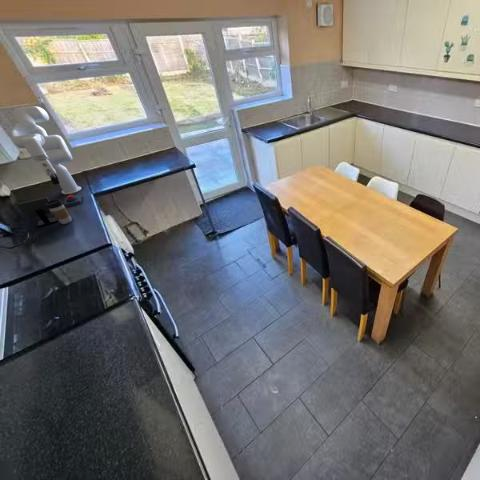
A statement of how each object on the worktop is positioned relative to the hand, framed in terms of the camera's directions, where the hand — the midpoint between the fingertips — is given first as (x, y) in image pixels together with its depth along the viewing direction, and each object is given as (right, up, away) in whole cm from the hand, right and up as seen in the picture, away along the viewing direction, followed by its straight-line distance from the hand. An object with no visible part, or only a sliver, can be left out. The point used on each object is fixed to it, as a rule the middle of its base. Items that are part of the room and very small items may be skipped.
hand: (56, 181), depth 185 cm
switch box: (-3, -12, +16) cm, 20 cm away
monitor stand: (-1, -28, -5) cm, 28 cm away
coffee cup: (+12, -28, -5) cm, 31 cm away
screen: (-1, -23, -8) cm, 25 cm away
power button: (-3, -9, +14) cm, 17 cm away
